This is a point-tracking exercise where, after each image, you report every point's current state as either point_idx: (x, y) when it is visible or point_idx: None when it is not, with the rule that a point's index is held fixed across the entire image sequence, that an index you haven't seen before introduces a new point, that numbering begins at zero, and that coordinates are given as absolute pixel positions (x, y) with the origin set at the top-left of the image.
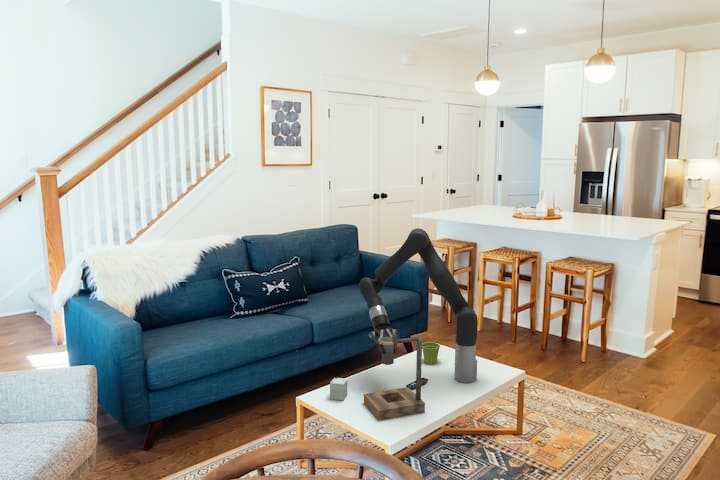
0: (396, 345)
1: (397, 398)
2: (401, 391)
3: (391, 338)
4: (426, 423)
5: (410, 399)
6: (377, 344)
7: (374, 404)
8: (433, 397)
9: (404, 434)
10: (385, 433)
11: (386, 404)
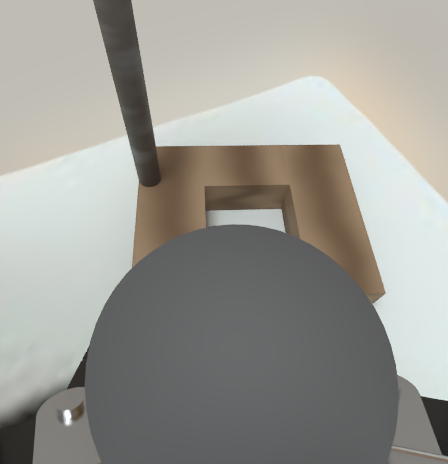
0: (76, 372)
1: None
2: None
3: (165, 312)
4: (180, 119)
5: (183, 184)
6: (438, 406)
7: (347, 188)
8: (33, 269)
9: (268, 93)
10: (321, 109)
11: (298, 175)
